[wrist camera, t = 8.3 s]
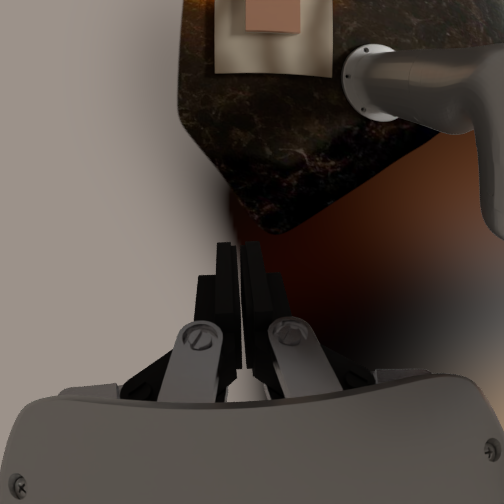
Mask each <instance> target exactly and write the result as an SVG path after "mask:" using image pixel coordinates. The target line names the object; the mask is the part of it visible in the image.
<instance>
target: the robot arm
mask: <svg viewBox="0 0 504 504" xmlns="http://www.w3.org/2000/svg"><path fill="white" fill-rule="evenodd" d="M364 50H365V52H364ZM346 75H347V78H346ZM341 83H342V88H343V91H344V94H345V96H346V98H347V100H348V102H349V103H350V105H351V106H352V107H353V108H354V109H355V110H356V111H357V112H358V113H360V114H361V115H362V116H364V117H366V118H368V119H371V120H374V121H380V122H386V121H391V120H395V119H397V118H402V119H406V120H409V121H412V122H415V123H418V124H421V125H424V126H427V127H429V128H432V129H435V130H437V131H440V132H443V133H447V134H463V133H466V132H468V131H471V130H473V129H474V132H475V138H476V146H477V152H478V165H479V186H480V207H481V213H482V217H483V219H484V221H485V223H486V225H487V226H488V228H489V229H490V230H491V231H492V233H494V234H495V235H496V236H497V237H499V238H500V239H502V240H504V43H500V44H492V45H485V46H479V47H470V48H456V49H421V50H404V51H395V50H393V49H391V48H390V47H387V46H384V45H380V44H367V45H363V46H360V47H358V48H356V49H355V50H353V51H352V52H351V53H350V54H349V55H348V56H347V58H346V60H345V62H344V64H343V67H342V71H341ZM361 108H362V110H361ZM240 262H241V304H242V318H243V330H244V342H245V354H246V364H247V369H252V371H253V376H255V378H257V379H258V380H260V381H261V382H263V383H264V389H265V393H266V395H267V399H268V400H263V401H248V402H227V395H228V386H229V385H230V384H231V383H232V382H233V381H234V380H235V379H236V378H237V372H236V369H242V345H241V310H240V297H239V282H238V267H237V252H236V246H231V242H222V243H217V257H216V275H199V276H198V284H197V294H196V304H195V314H194V322H191V323H189V324H187V325H185V326H184V327H183V328H182V329H181V330H180V331H179V334H178V336H177V339H176V342H175V345H174V348H173V349H172V350H171V351H169V352H168V353H167V354H165V355H164V356H162V357H161V358H160V359H158V360H157V361H155V362H154V363H153V364H151V365H149V366H148V367H147V368H145V369H144V370H142V371H141V372H139V373H138V374H136V375H135V376H133V377H132V378H131V379H129V380H128V381H127V382H126V383H125V384H124V385H121V386H117V384H116V383H113V384H104V385H95V386H84V387H71V388H67V389H64V390H63V391H61V392H60V394H59V395H58V396H52V397H47V398H42V399H39V400H36V401H33V402H31V403H29V404H28V405H26V406H25V407H24V408H23V409H22V410H21V412H20V413H19V415H18V417H17V418H16V420H15V423H14V425H13V427H12V430H11V432H10V435H9V438H8V441H7V445H6V448H5V452H4V456H3V460H2V465H1V470H0V504H504V431H503V429H502V427H501V425H500V423H499V420H498V418H497V416H496V414H495V412H494V410H493V408H492V407H491V405H490V403H489V401H488V400H487V398H486V397H485V395H484V393H483V392H482V390H481V389H480V388H479V387H478V386H477V384H476V383H475V382H473V381H472V380H470V379H469V378H467V377H464V376H460V375H456V374H446V373H434V374H432V373H431V372H429V371H428V370H425V369H376V371H375V372H370V371H369V370H368V369H366V368H365V367H363V366H361V365H359V364H357V363H356V362H354V361H352V360H350V359H348V358H346V357H344V356H342V355H340V354H338V353H336V352H335V351H333V350H331V349H329V348H327V347H325V346H323V345H322V344H320V343H319V342H318V340H317V338H316V336H315V334H314V332H313V330H312V328H311V327H310V326H309V324H308V323H307V322H305V321H304V320H302V319H299V318H297V317H292V315H291V311H290V307H289V303H288V299H287V295H286V291H285V288H284V284H283V280H282V276H281V274H280V272H279V273H278V272H276V273H265V268H264V262H263V257H262V253H261V248H260V243H259V241H252V242H245V245H241V246H240Z"/></svg>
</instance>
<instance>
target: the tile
mask: <svg viewBox="0 0 504 504" xmlns="http://www.w3.org/2000/svg"><path fill="white" fill-rule="evenodd" d="M245 33H278V34H292V35H298V34H300V33H301V30H300V0H245Z"/></svg>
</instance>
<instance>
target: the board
mask: <svg viewBox="0 0 504 504" xmlns="http://www.w3.org/2000/svg"><path fill="white" fill-rule="evenodd" d="M300 30H301V33H300V34H298V35H292V34H278V33H245V0H215V74H224V73H276V74H295V75H308V76H319V77H328V78H332V54H333V18H332V0H300Z"/></svg>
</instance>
